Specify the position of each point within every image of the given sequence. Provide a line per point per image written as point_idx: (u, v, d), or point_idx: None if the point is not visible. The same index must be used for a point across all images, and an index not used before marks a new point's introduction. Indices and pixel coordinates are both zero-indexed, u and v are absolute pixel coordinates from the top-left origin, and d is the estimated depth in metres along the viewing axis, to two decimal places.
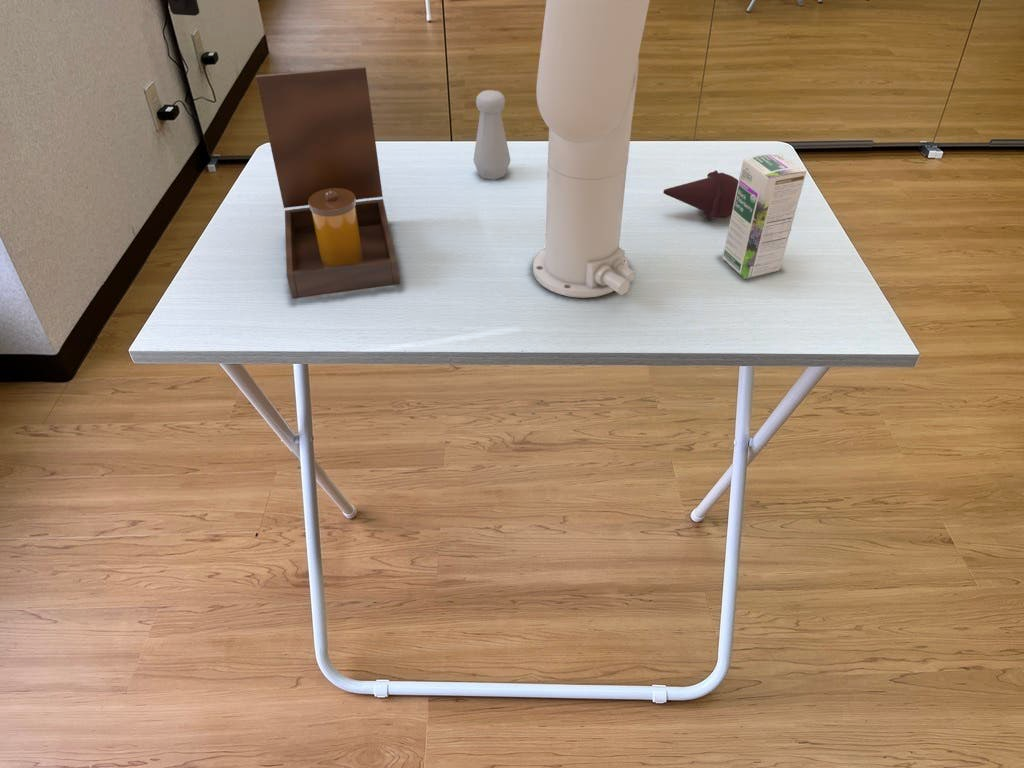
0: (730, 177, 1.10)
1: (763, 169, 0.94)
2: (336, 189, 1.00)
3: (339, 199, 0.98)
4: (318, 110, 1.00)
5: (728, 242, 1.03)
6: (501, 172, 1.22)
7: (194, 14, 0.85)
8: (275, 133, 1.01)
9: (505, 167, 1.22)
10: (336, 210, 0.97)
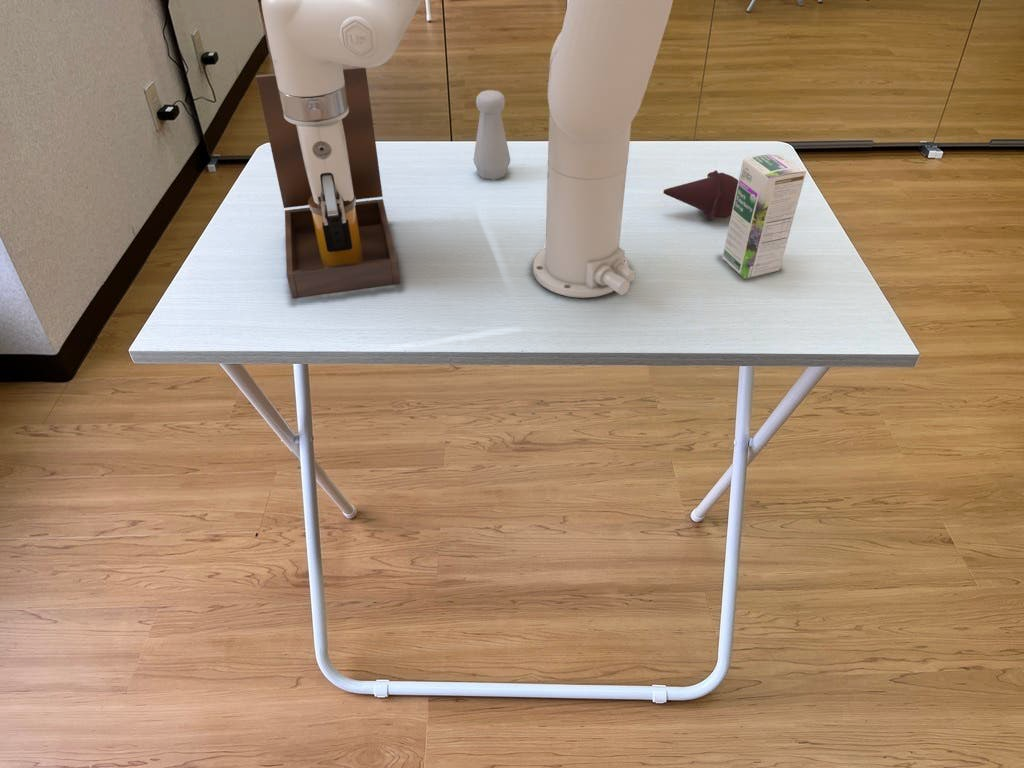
0: (730, 177, 1.10)
1: (763, 169, 0.94)
2: None
3: None
4: None
5: (728, 242, 1.03)
6: (501, 172, 1.22)
7: (349, 248, 1.00)
8: (275, 133, 1.01)
9: (505, 167, 1.22)
10: None
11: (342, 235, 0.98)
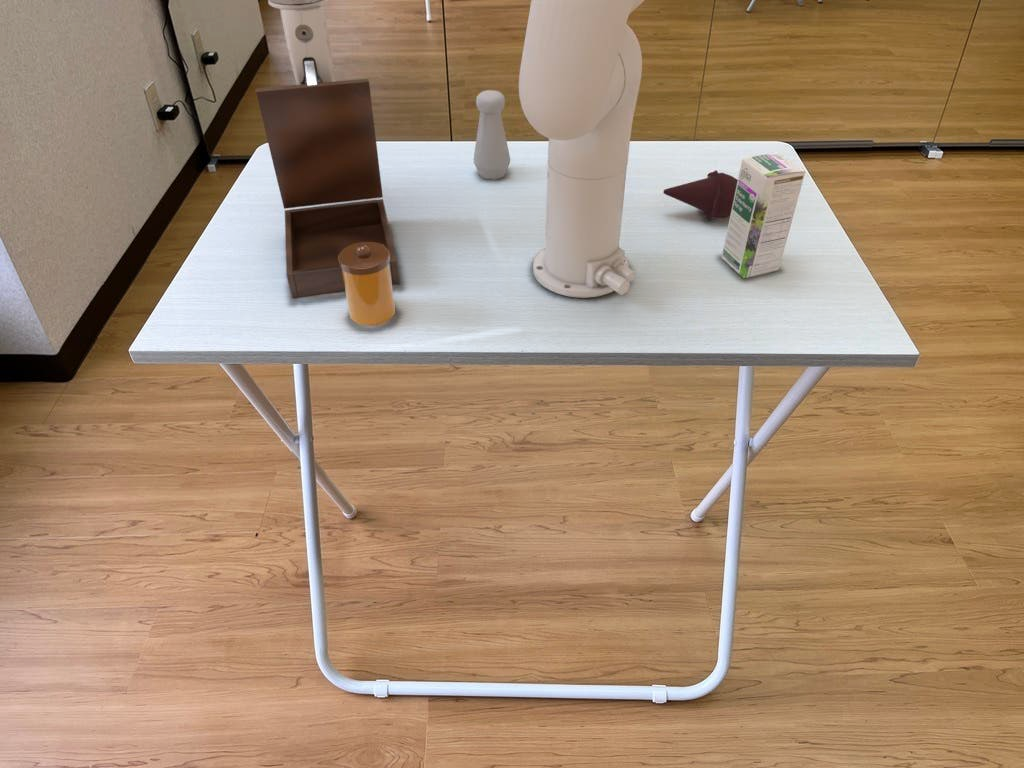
0: (730, 177, 1.10)
1: (762, 168, 0.94)
2: (368, 243, 0.92)
3: (372, 255, 0.90)
4: (320, 121, 0.98)
5: (727, 242, 1.03)
6: (501, 172, 1.22)
7: None
8: (275, 142, 0.99)
9: (505, 167, 1.22)
10: (369, 268, 0.88)
11: None
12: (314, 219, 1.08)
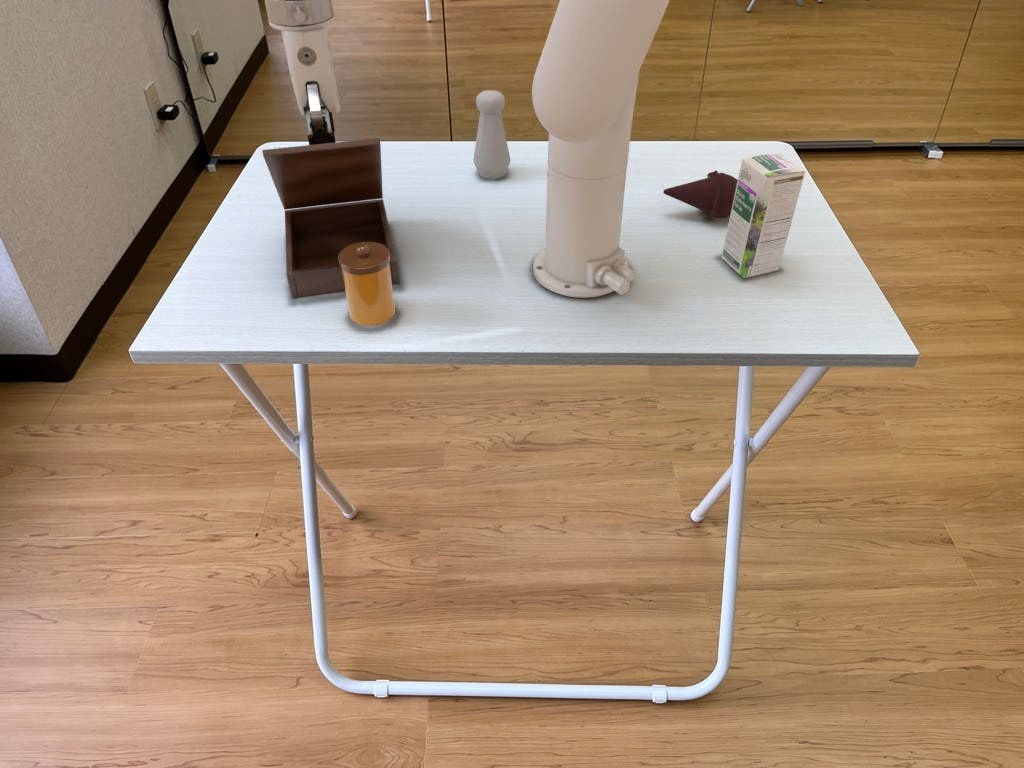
0: (730, 177, 1.10)
1: (762, 168, 0.94)
2: (368, 243, 0.92)
3: (372, 255, 0.90)
4: (327, 166, 0.96)
5: (727, 242, 1.03)
6: (501, 172, 1.22)
7: None
8: (280, 179, 0.97)
9: (505, 167, 1.22)
10: (369, 268, 0.88)
11: None
12: (314, 219, 1.08)
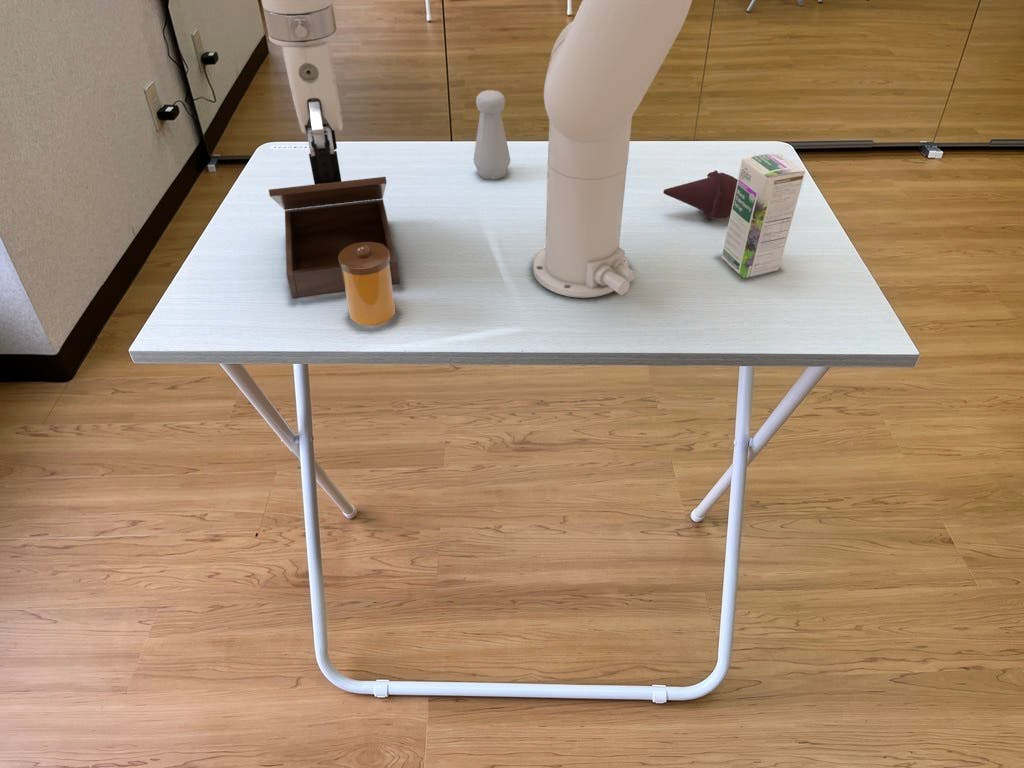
0: (730, 177, 1.10)
1: (762, 168, 0.94)
2: (368, 243, 0.92)
3: (372, 255, 0.90)
4: (331, 194, 0.96)
5: (727, 242, 1.03)
6: (501, 172, 1.22)
7: None
8: (284, 201, 0.97)
9: (505, 167, 1.22)
10: (369, 268, 0.88)
11: (330, 167, 0.92)
12: (314, 219, 1.08)
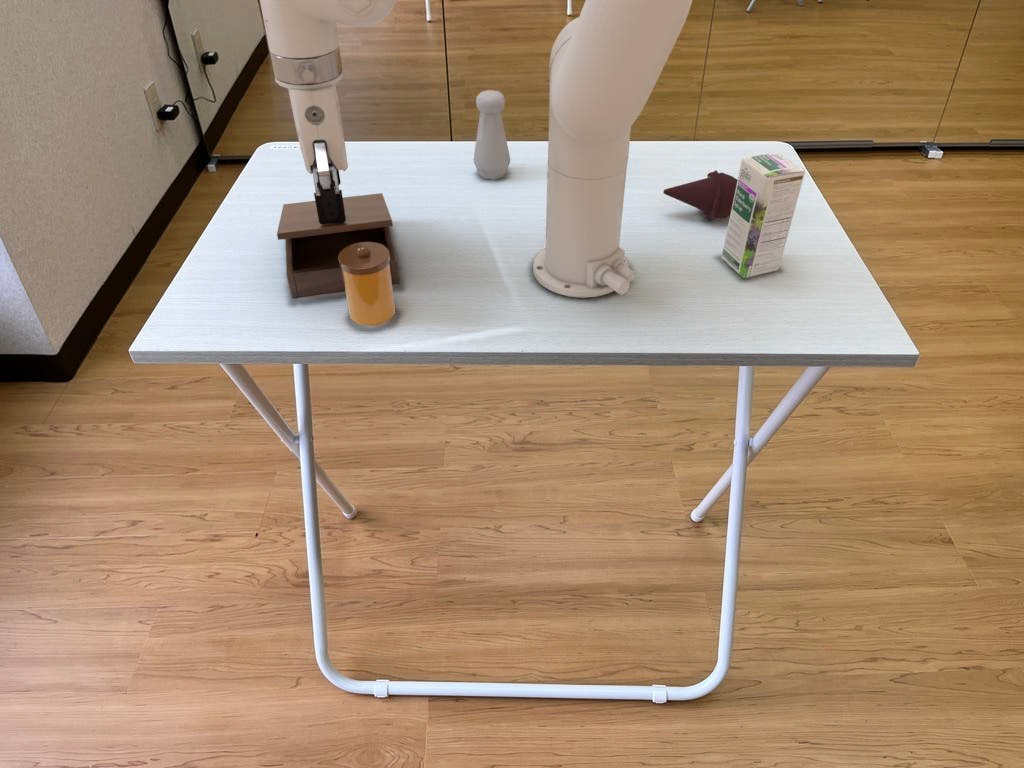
0: (730, 177, 1.10)
1: (762, 168, 0.94)
2: (368, 243, 0.92)
3: (372, 255, 0.90)
4: None
5: (727, 242, 1.03)
6: (501, 172, 1.22)
7: (342, 221, 0.94)
8: None
9: (505, 167, 1.22)
10: (369, 268, 0.88)
11: (335, 206, 0.92)
12: None
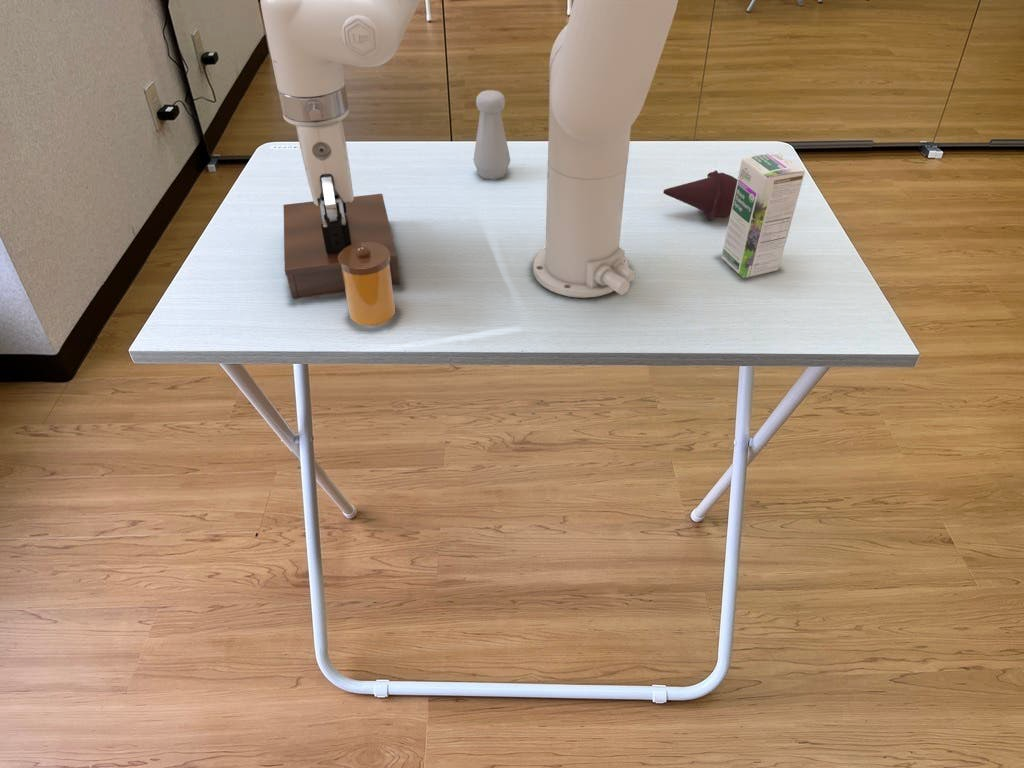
0: (730, 177, 1.10)
1: (761, 168, 0.94)
2: (368, 243, 0.92)
3: (372, 255, 0.90)
4: None
5: (727, 242, 1.03)
6: (501, 172, 1.22)
7: None
8: None
9: (505, 167, 1.22)
10: (369, 268, 0.88)
11: (342, 237, 0.95)
12: None
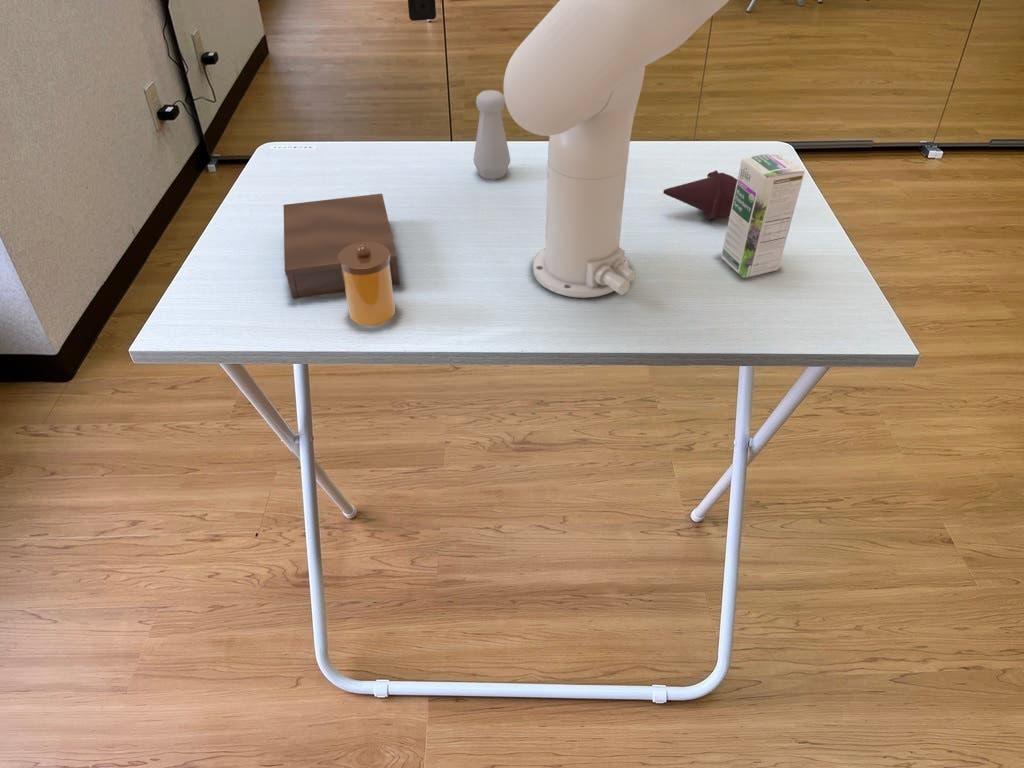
0: (730, 177, 1.10)
1: (761, 168, 0.94)
2: (368, 243, 0.92)
3: (372, 255, 0.90)
4: None
5: (727, 242, 1.03)
6: (501, 172, 1.22)
7: (433, 18, 0.93)
8: None
9: (505, 167, 1.22)
10: (369, 268, 0.88)
11: None
12: None
